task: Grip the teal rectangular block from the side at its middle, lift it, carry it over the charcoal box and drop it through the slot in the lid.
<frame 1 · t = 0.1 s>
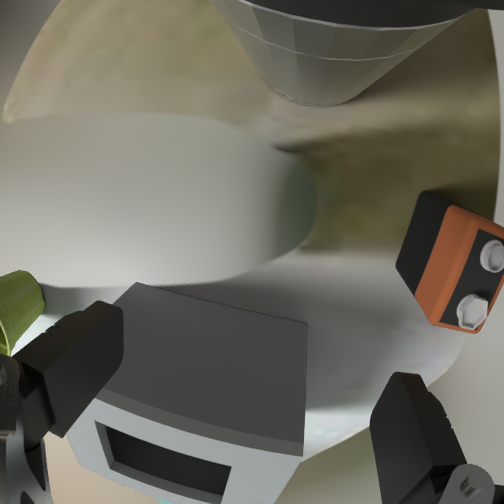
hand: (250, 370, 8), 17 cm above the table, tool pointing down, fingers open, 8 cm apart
battery: (427, 235, 23), on the table
slot box: (210, 354, 30), on the table
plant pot: (29, 290, 32), on the table
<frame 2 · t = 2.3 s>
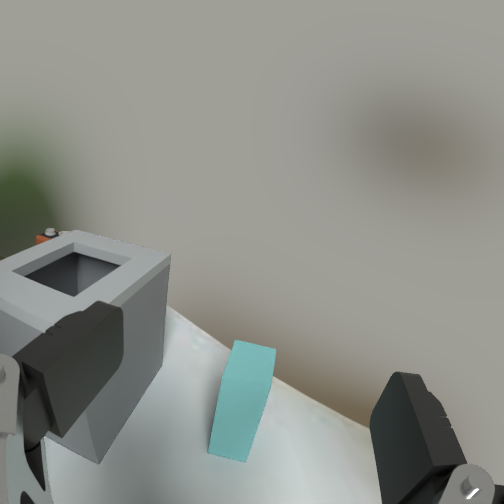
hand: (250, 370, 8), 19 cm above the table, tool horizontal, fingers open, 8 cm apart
battery: (59, 291, 44), on the table
slot box: (84, 387, 28), on the table
teal rectangular block: (231, 438, 27), on the table
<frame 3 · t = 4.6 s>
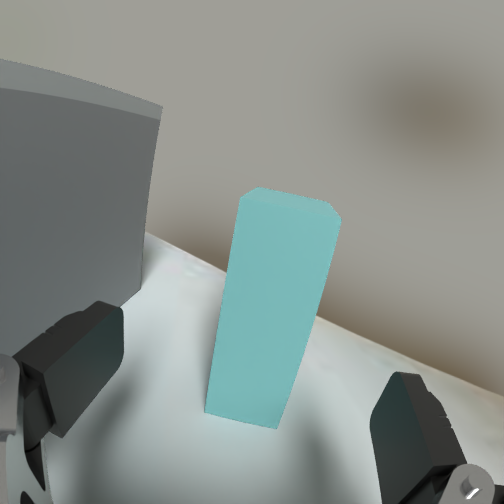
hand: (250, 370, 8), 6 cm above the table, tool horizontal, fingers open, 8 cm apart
slot box: (19, 307, 17), on the table
teal rectangular block: (248, 389, 16), on the table
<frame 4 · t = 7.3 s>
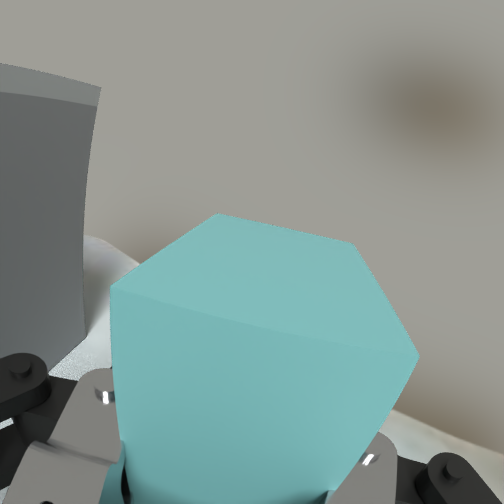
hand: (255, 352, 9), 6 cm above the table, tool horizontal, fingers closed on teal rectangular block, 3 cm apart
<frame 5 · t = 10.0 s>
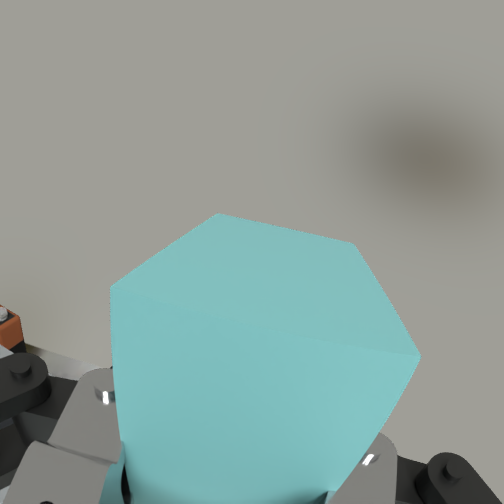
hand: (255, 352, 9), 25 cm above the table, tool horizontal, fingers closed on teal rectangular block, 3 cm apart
battery: (8, 370, 32), on the table
when the fingers open (21 cm above the table, at t = 12.7 s): teal rectangular block drops 14 cm, resting on slot box.
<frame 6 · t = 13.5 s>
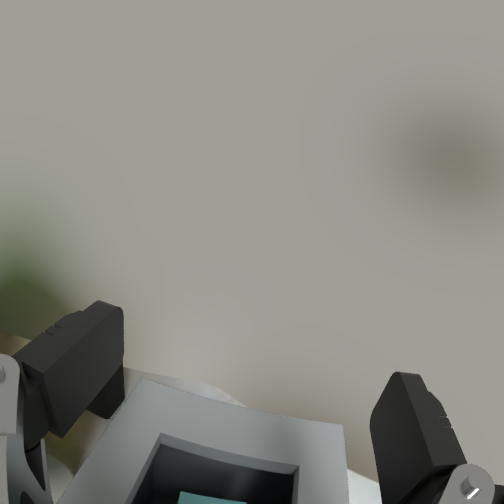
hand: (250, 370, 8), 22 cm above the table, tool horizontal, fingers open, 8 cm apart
battery: (92, 399, 30), on the table
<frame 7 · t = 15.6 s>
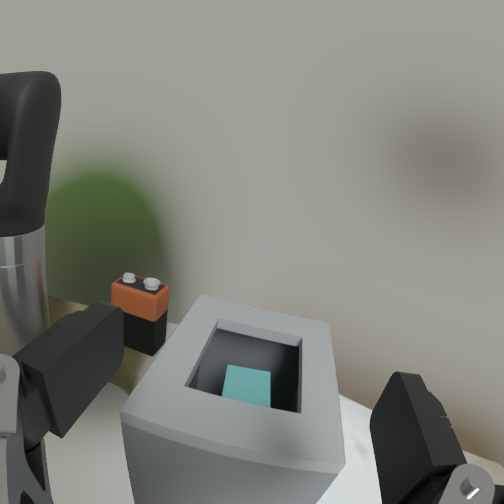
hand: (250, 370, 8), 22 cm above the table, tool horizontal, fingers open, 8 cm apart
battery: (138, 343, 42), on the table
slot box: (225, 466, 25), on the table
teal rectangular block: (228, 459, 25), point 1 cm above the table, touching slot box
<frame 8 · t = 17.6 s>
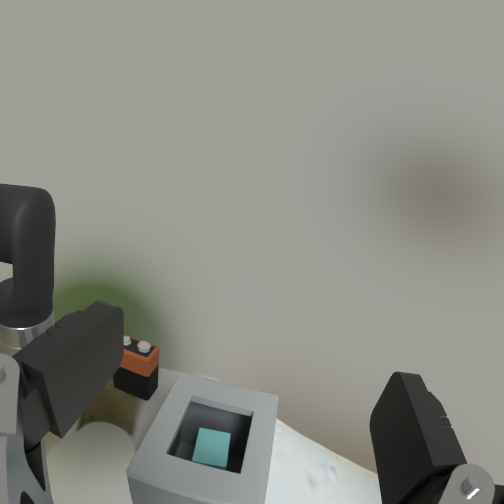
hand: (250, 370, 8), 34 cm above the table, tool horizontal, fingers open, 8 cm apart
battery: (135, 388, 49), on the table
slot box: (202, 492, 32), on the table
teal rectangular block: (204, 487, 32), point 1 cm above the table, touching slot box
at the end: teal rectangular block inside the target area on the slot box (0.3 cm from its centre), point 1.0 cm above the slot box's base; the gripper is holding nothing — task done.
